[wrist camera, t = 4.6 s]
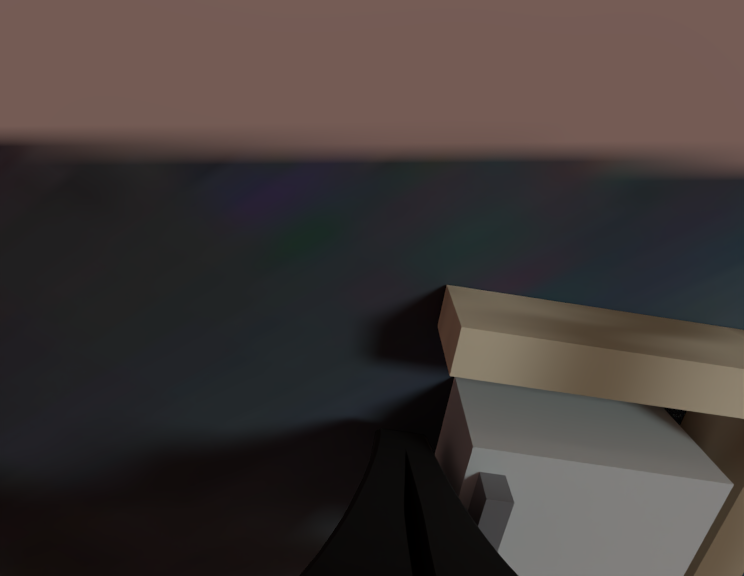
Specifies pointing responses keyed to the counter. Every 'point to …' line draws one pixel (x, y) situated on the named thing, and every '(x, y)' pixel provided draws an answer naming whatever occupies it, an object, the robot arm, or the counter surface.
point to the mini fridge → (578, 480)
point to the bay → (616, 377)
